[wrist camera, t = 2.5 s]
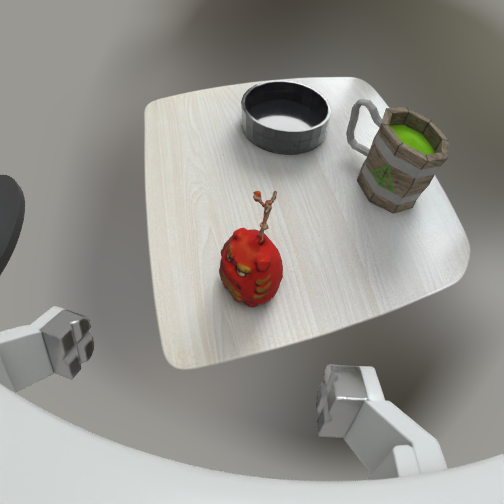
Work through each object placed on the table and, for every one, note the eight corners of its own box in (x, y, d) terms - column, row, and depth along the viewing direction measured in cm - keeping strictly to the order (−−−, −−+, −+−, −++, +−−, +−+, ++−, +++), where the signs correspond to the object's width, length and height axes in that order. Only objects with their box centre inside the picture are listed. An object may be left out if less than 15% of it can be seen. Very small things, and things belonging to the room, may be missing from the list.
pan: (234, 148, 47) (233, 125, 42) (249, 97, 53) (249, 76, 48) (325, 161, 46) (331, 139, 41) (325, 108, 52) (330, 87, 48)
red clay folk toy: (209, 274, 37) (189, 205, 24) (252, 241, 40) (255, 162, 26) (250, 320, 35) (251, 274, 22) (293, 283, 37) (319, 219, 24)
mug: (426, 192, 44) (460, 144, 33) (395, 226, 41) (432, 175, 30) (359, 134, 49) (377, 81, 38) (320, 159, 46) (336, 100, 35)
